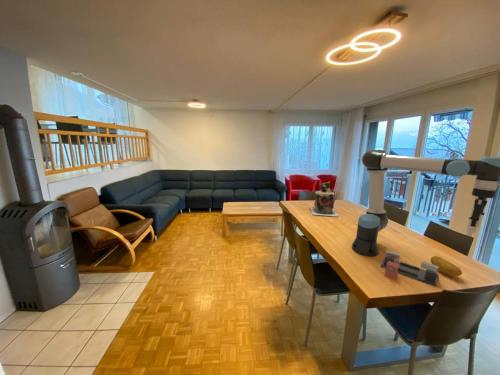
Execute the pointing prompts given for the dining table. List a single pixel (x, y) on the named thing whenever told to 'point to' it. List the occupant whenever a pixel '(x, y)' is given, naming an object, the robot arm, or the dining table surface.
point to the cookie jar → (324, 202)
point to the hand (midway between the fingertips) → (473, 229)
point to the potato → (446, 266)
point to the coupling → (391, 270)
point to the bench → (414, 269)
